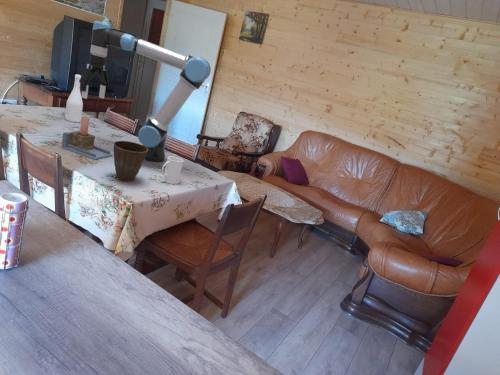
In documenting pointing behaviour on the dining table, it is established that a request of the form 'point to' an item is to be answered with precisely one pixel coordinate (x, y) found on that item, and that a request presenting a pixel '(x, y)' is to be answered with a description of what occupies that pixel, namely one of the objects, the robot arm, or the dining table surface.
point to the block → (82, 141)
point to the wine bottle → (74, 103)
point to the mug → (172, 170)
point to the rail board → (91, 153)
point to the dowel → (84, 126)
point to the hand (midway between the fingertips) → (93, 98)
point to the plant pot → (128, 159)
